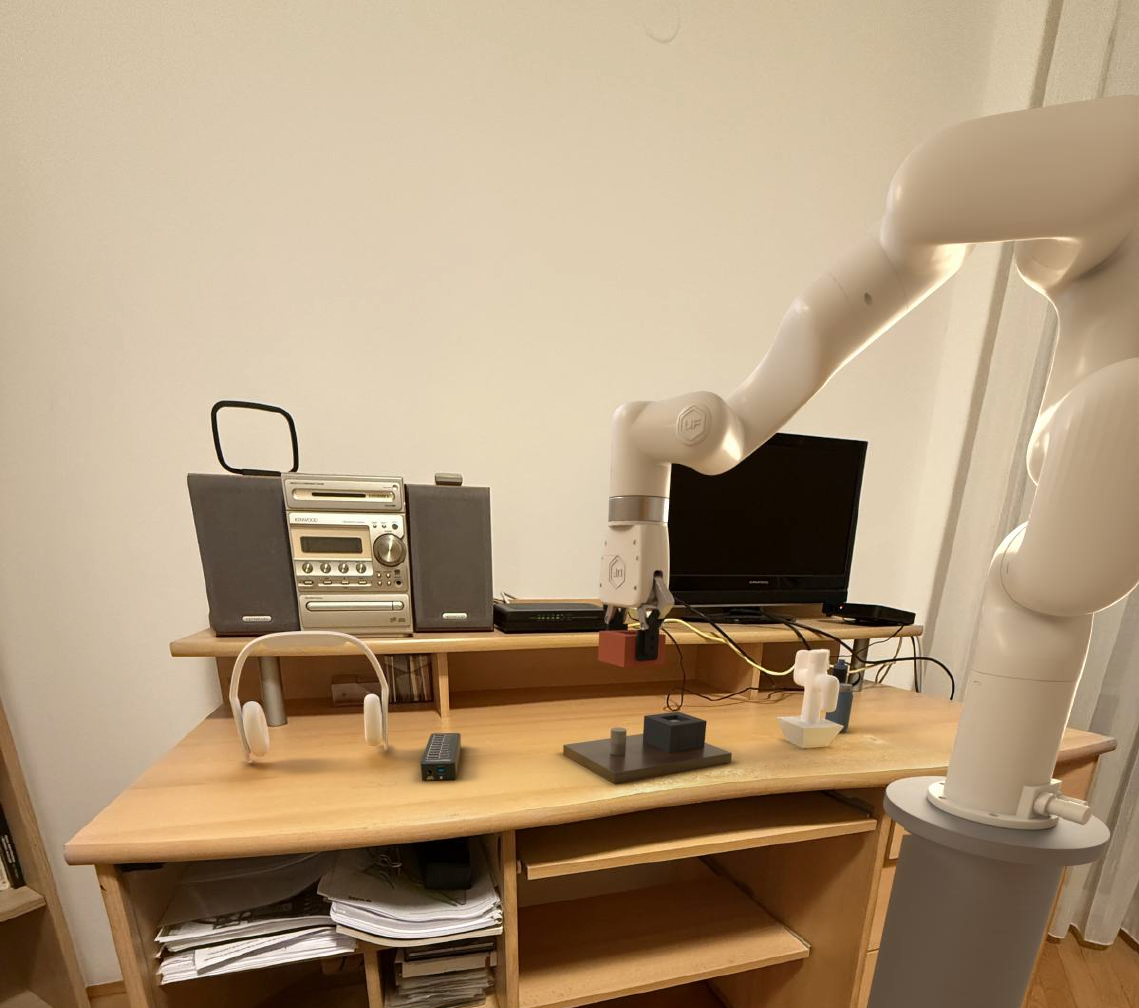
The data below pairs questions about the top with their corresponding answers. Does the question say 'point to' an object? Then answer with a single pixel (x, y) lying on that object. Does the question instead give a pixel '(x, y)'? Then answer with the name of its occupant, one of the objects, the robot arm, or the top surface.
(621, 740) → the pegboard
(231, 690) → the headset
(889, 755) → the top surface
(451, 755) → the multiport hub
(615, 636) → the red square holed block
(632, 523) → the robot arm
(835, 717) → the vaping device
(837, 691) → the figurine
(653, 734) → the dark grey hollow block
